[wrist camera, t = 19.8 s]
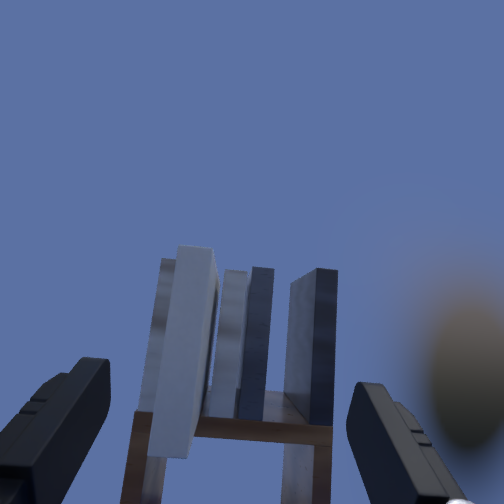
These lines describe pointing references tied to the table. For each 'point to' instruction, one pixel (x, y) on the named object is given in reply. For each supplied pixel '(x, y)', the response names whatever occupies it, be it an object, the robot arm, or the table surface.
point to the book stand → (253, 382)
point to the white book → (185, 353)
